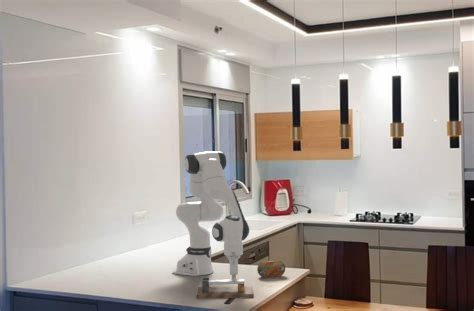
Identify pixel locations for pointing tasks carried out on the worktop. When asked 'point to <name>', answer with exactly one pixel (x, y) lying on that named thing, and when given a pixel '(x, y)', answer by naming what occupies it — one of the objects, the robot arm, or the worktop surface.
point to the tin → (271, 269)
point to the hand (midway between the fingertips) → (233, 280)
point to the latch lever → (226, 281)
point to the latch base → (223, 291)
